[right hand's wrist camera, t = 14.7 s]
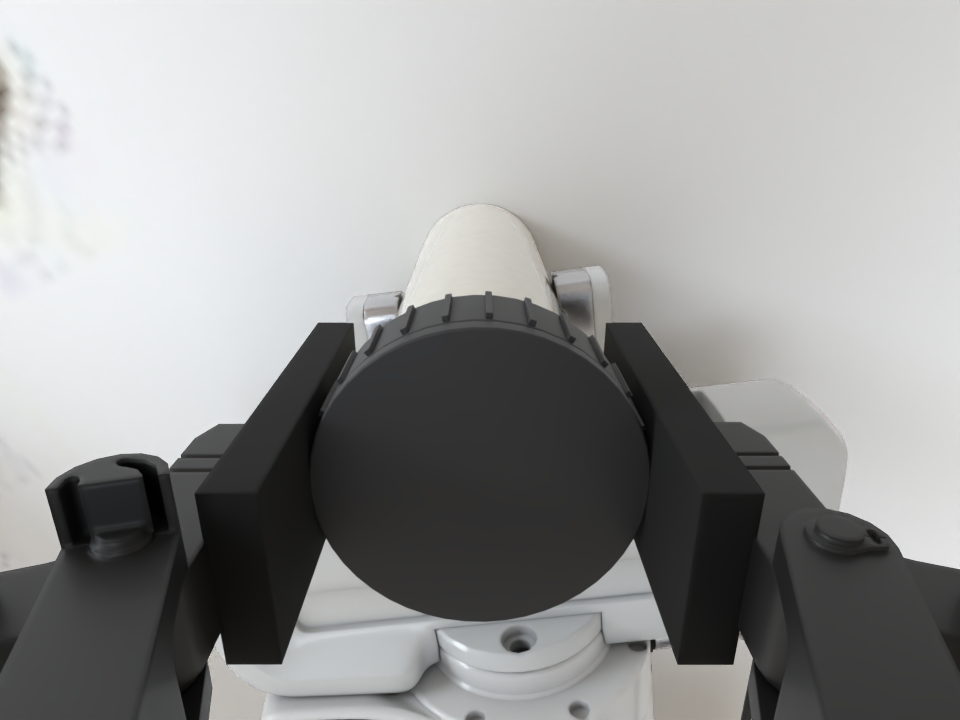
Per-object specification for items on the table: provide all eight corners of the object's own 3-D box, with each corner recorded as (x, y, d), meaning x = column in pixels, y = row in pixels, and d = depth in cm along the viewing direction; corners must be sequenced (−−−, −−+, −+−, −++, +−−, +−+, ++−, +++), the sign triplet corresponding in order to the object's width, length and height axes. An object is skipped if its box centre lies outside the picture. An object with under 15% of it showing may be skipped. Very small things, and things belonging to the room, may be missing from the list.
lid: (413, 596, 13) (404, 665, 12) (270, 367, 12) (235, 411, 10) (672, 500, 13) (701, 559, 11) (563, 235, 11) (578, 259, 9)
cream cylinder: (452, 335, 26) (420, 614, 12) (400, 234, 24) (295, 415, 10) (555, 290, 25) (651, 529, 11) (509, 183, 24) (552, 303, 10)
